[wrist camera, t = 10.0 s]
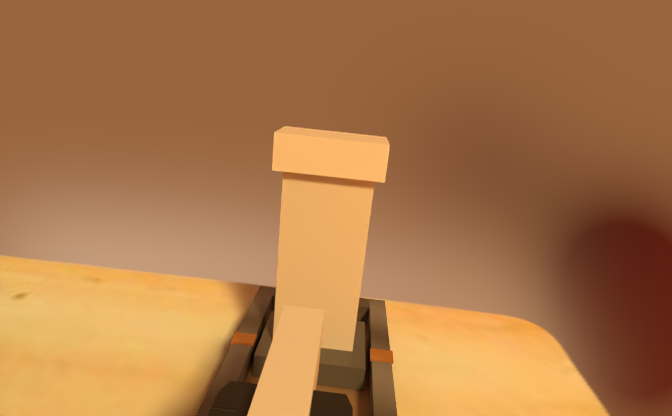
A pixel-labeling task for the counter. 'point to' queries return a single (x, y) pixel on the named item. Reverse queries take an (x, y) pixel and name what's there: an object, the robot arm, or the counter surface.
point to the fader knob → (325, 241)
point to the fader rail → (368, 404)
